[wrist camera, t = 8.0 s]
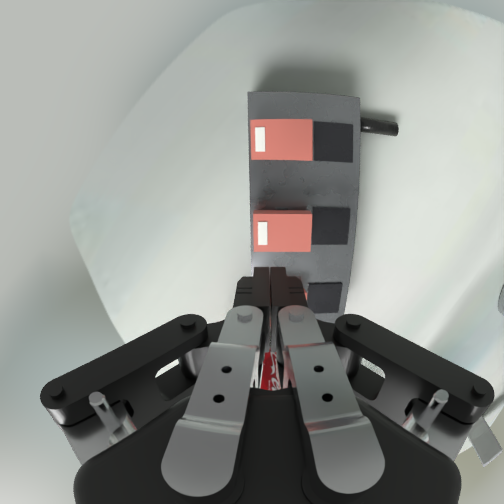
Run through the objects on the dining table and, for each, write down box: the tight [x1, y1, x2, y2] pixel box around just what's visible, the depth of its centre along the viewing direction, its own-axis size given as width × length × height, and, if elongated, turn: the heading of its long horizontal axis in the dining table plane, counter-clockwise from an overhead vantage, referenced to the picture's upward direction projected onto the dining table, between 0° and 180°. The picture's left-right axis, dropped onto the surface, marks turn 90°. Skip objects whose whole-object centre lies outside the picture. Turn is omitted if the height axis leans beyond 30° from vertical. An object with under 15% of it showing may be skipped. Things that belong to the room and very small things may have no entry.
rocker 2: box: [253, 210, 312, 252], centre depth 21 cm, size 4×3×1 cm
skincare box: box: [468, 416, 502, 466], centre depth 37 cm, size 8×7×16 cm
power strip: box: [248, 91, 399, 333], centre depth 24 cm, size 14×22×4 cm, turn 1°
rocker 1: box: [250, 119, 313, 161], centre depth 19 cm, size 4×3×1 cm
